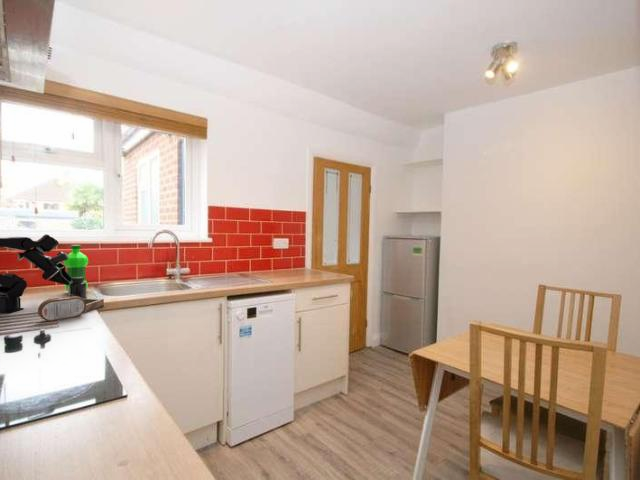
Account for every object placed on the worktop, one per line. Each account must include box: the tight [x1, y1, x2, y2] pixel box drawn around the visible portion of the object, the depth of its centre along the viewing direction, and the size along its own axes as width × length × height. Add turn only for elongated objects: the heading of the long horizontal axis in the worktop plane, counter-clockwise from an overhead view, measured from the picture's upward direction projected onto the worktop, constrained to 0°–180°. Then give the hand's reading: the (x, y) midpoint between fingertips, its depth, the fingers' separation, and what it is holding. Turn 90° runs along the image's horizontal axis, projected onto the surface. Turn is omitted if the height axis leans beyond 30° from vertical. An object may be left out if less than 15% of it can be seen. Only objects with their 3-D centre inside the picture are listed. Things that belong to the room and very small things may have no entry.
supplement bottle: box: [68, 276, 88, 299], centre depth 155 cm, size 7×7×12 cm
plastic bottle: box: [63, 244, 89, 293], centre depth 174 cm, size 10×10×25 cm
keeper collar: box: [82, 298, 105, 314], centre depth 145 cm, size 12×12×3 cm
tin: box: [37, 296, 86, 322], centre depth 130 cm, size 15×3×8 cm, turn 141°
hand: (70, 282), depth 153 cm, fingers open, 9 cm apart
